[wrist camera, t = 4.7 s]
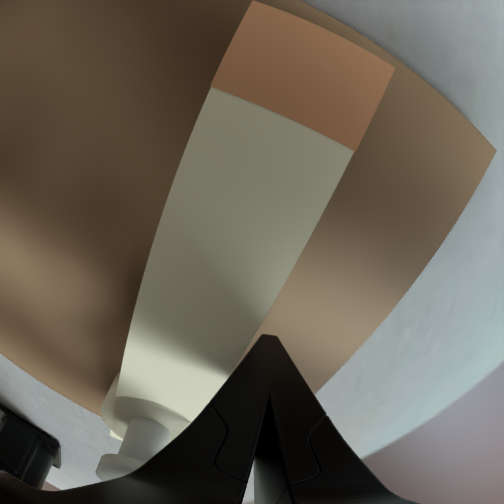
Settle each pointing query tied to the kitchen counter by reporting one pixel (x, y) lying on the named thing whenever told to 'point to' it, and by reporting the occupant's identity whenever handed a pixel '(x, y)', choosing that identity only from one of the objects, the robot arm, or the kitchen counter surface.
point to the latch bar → (237, 219)
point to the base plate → (162, 176)
